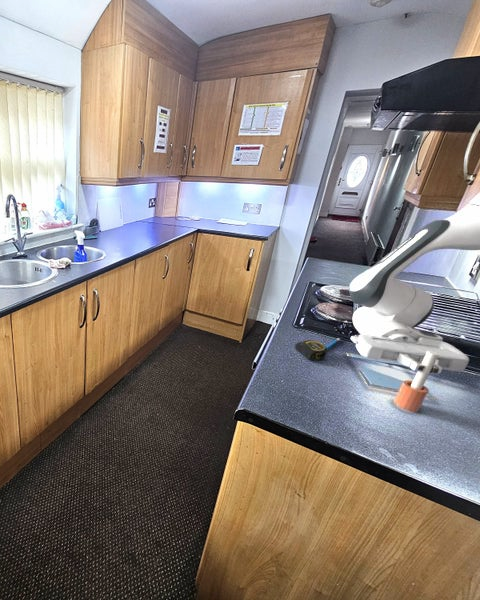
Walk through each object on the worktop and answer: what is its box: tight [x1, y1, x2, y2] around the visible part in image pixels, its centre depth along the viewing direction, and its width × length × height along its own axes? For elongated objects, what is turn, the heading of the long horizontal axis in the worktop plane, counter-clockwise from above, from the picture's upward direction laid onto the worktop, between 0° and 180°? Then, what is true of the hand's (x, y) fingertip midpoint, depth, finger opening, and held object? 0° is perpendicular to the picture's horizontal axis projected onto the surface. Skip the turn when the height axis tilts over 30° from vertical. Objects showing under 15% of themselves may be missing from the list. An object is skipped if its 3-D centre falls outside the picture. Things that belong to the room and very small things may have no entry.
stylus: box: [410, 351, 439, 390], centre depth 75 cm, size 2×2×14 cm
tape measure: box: [294, 339, 328, 362], centre depth 98 cm, size 7×7×4 cm
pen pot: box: [393, 380, 430, 413], centre depth 77 cm, size 4×4×6 cm
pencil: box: [325, 337, 341, 350], centre depth 103 cm, size 1×17×1 cm, turn 124°
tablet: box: [344, 352, 439, 401], centre depth 90 cm, size 14×18×1 cm
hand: (428, 369), depth 73 cm, fingers closed on stylus, 2 cm apart
